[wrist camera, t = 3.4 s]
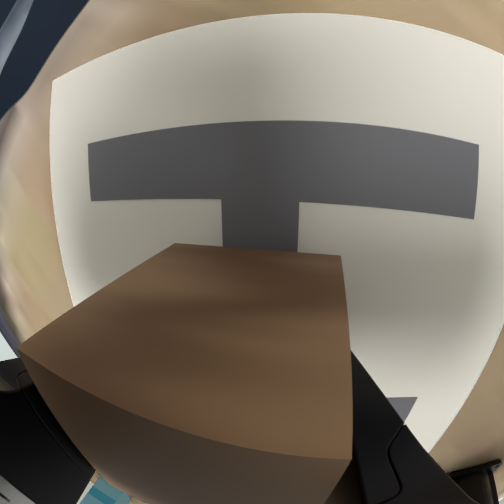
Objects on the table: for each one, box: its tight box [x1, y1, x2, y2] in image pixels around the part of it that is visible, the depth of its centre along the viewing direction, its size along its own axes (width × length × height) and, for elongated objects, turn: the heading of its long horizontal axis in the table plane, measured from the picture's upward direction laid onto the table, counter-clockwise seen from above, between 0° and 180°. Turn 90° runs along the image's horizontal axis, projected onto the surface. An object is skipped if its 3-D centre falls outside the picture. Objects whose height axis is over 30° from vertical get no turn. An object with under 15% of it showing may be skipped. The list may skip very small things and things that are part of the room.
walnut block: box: [17, 243, 353, 504], centre depth 6 cm, size 5×5×6 cm
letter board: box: [50, 13, 504, 453], centre depth 10 cm, size 20×20×1 cm
